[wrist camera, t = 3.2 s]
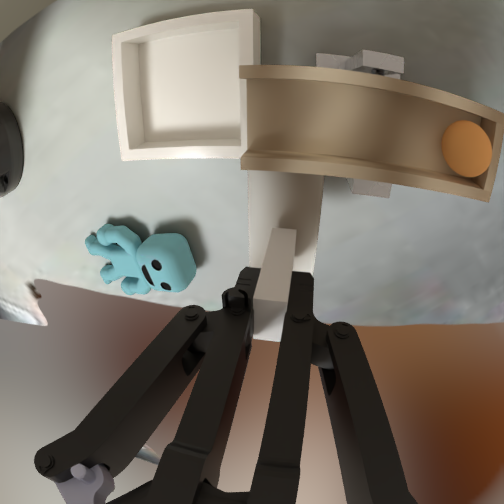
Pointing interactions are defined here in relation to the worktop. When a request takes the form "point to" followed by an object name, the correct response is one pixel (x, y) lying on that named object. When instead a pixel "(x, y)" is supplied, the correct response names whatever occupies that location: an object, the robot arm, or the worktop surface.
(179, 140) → the dish
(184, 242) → the toy
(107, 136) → the worktop surface
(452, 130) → the ball
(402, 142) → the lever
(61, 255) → the worktop surface
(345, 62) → the fulcrum
